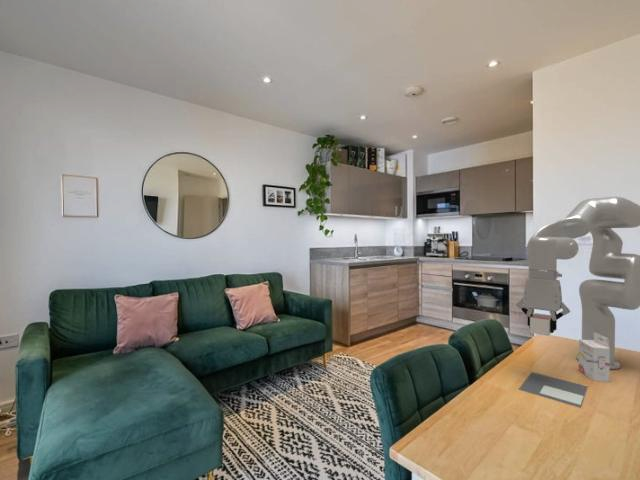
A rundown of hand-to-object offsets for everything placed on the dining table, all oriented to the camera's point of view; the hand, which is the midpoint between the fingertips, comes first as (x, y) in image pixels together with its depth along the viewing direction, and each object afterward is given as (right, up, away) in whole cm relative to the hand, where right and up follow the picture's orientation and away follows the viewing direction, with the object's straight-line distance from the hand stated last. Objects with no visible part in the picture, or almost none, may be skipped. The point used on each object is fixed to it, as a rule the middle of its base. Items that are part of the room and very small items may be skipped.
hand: (541, 329), depth 105 cm
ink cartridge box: (+20, -18, +3) cm, 27 cm away
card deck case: (0, -1, 0) cm, 1 cm away
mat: (0, -17, -6) cm, 18 cm away
